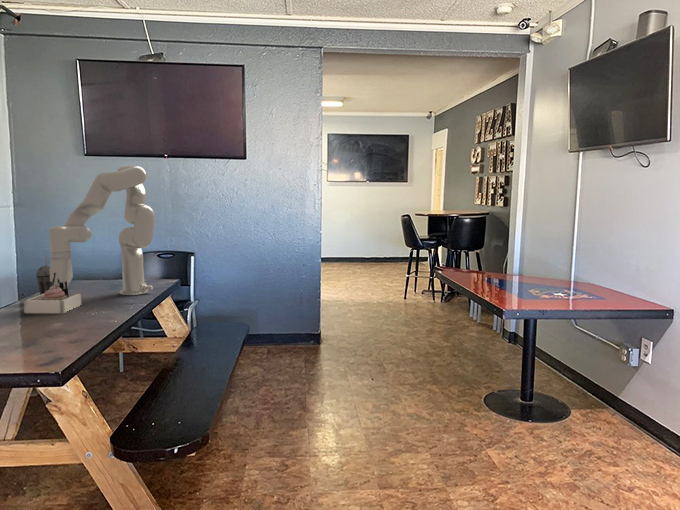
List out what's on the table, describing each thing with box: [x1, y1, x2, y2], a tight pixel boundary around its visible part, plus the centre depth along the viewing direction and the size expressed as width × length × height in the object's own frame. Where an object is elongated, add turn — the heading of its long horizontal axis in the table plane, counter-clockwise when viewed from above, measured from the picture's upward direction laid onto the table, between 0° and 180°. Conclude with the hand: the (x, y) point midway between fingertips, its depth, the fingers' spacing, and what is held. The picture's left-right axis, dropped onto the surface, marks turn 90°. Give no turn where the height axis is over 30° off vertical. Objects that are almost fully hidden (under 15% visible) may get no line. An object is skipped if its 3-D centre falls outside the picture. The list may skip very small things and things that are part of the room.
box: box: [23, 293, 82, 314], centre depth 203 cm, size 15×14×5 cm
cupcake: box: [42, 285, 67, 301], centre depth 204 cm, size 9×9×10 cm
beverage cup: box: [35, 255, 55, 295], centre depth 216 cm, size 7×7×20 cm
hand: (63, 297), depth 210 cm, fingers closed
